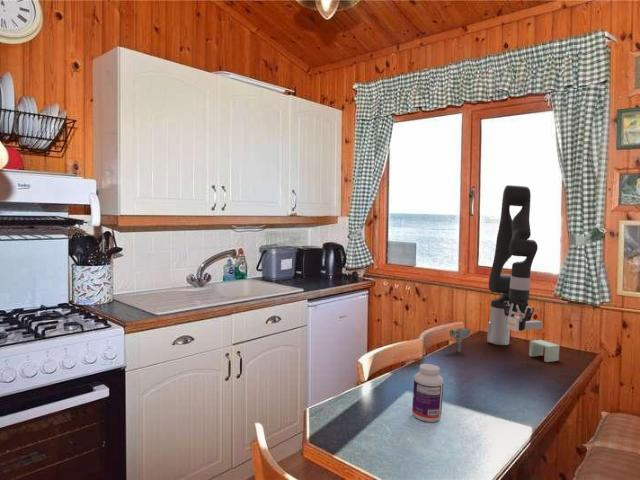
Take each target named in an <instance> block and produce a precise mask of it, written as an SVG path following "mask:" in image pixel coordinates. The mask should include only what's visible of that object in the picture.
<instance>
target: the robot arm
mask: <svg viewBox="0 0 640 480" xmlns="http://www.w3.org/2000/svg"><path fill="white" fill-rule="evenodd" d="M501 201H502V202H501V212H500V219H499V226H498V230H497V236H496V240H495V241H496V242H495V249H494V250H495V251H494V257H493V261H492V264H491V270H490V274H489V279H488V290H489V291H490V292H491V293H497V294H502V295H500V296H499V297H497V298H494V299H492V300H491V301H490V310H489V311H490V312H489V313H490V314H489V322H488V325H487V337H486V339H487V340H486V342H487V343H490V344H492V345H496V346H509V344H510V337H511V336H510V333H511V330H510V329H507V325H508V324H507V323H508V317H512V316H516V314H517V316H518V317H519V318H520V322H519V330H520V331H519V332H525V331H524V329H525V322H526V321H532V317H533V315H534V311H535V308H534V307H531V306H529V303H528V302H529V300H530V289H531V271H532V265H533V262H534V259H535V256H536V254H537V252H538V243H537V242H536V241H535V240H534V239H530V237H531V224H530V214H531V213H530V212H531V190H530V188H529V187H528V186H524V185H513V184H507V185H506V186H505V187H504V190H503V192H502V199H501ZM511 206H512V207H521V209H520V210H519V211H518V212H517V214H516V215H515V216H514V217H513V218H512V216H511V211H510V209H511ZM512 256H514V257H522V258H523V257H524V258H525V259H523V260H521V261H515V262H513V263H512V264H511V274H510V273H502V270H503V268H504V266H505V265H506V263H507V262H508V261H509V259H510V258H511V257H512Z"/></svg>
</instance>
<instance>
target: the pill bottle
mask: <svg viewBox="0 0 640 480" xmlns="http://www.w3.org/2000/svg"><path fill="white" fill-rule="evenodd" d="M440 370H441V368H440V366H438V365H435V364H432V363H421V364H420V365H419V371H418V372H417V373H415V374H414V378H413V394H412V404H411V405H412V408H411V413H412V416H413V417H414V418H415V419H417V420H420V421H423V422H427V423H435V422H437V421H440V419H441V418H442V409H443V397H444V395H443V394H444V393H443V392H444V378H443V377H442V375H440V373H441V372H440Z"/></svg>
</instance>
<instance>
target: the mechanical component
mask: <svg viewBox="0 0 640 480" xmlns="http://www.w3.org/2000/svg"><path fill="white" fill-rule="evenodd" d="M470 333H471V329H469V328H466V327H460V328H459V327H458V328H456V330H455V329H451V330H449V337H450V338H452V339H454V340H455V342H456V343H457V344H456V352H458V353H461V349H462V343H463V339H468V338H469V337H470Z"/></svg>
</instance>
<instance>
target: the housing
mask: <svg viewBox="0 0 640 480" xmlns="http://www.w3.org/2000/svg"><path fill="white" fill-rule="evenodd" d="M528 347H529V348H528V350H529V351H528V356H529V357H539V356H543V355H544V359H543V361H544V362H545V363H549V362H550V363H551V362H558V361H559V360H560V357H559V356H560V345H559V344H556V343H553V342H550V341H546V340H544V339H543V340H542V339H536V340H535V339H534V340H529V346H528Z"/></svg>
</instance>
